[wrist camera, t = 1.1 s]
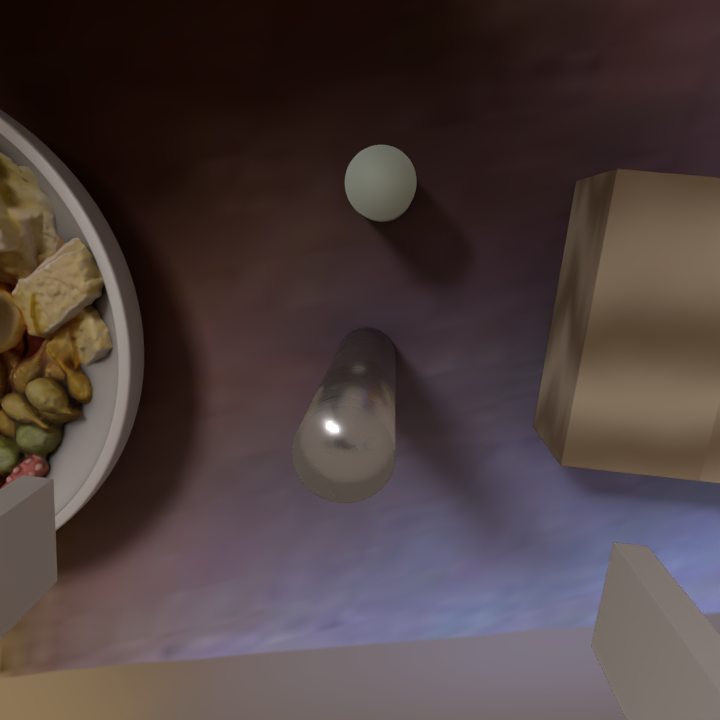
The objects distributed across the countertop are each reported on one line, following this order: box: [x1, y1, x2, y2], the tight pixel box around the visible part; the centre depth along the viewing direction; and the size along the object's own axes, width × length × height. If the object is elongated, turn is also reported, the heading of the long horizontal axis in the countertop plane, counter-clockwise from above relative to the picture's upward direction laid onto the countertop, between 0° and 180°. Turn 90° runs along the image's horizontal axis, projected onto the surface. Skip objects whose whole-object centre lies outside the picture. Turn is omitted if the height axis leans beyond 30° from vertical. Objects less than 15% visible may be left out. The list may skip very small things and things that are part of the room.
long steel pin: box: [292, 327, 395, 503], centre depth 27 cm, size 4×4×16 cm
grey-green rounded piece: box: [345, 145, 417, 222], centre depth 30 cm, size 4×4×5 cm
